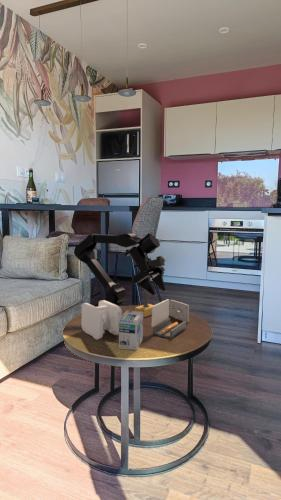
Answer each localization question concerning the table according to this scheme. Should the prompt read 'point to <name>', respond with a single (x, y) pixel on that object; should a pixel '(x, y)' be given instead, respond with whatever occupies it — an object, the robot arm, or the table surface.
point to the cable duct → (168, 329)
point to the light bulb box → (130, 330)
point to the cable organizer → (100, 318)
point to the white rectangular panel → (160, 312)
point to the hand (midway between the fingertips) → (159, 292)
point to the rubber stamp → (147, 307)
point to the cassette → (181, 314)
